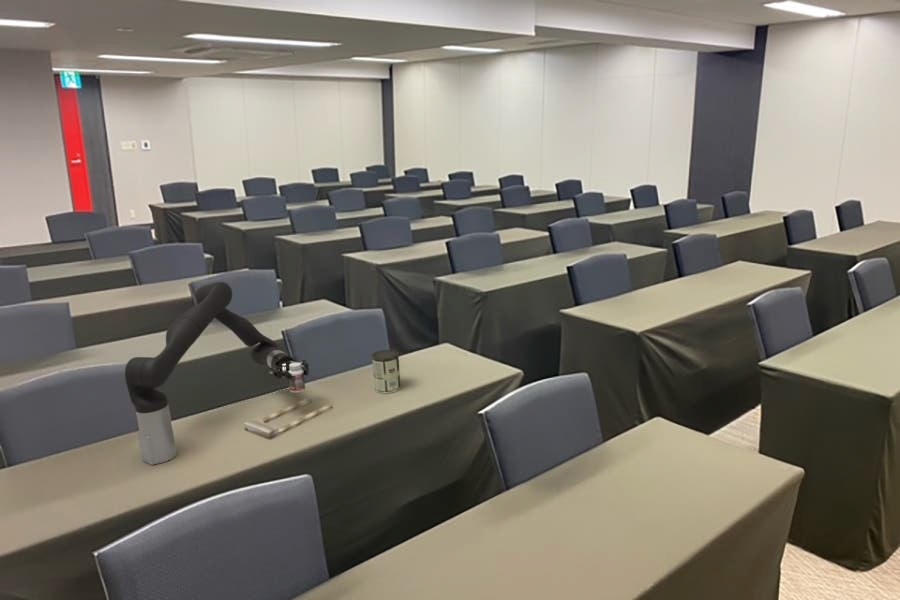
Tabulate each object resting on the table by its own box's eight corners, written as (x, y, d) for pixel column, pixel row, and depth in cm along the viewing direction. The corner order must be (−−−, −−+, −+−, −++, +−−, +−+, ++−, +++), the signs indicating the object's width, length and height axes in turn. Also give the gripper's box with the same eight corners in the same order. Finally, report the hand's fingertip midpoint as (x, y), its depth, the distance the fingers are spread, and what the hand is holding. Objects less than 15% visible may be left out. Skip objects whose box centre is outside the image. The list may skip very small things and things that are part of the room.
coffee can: (385, 381, 251) (382, 348, 247) (406, 385, 246) (403, 351, 242) (368, 390, 243) (365, 356, 239) (390, 395, 237) (387, 360, 234)
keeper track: (269, 439, 208) (268, 432, 207) (244, 429, 215) (243, 423, 215) (332, 408, 229) (331, 401, 228) (307, 400, 237) (307, 394, 236)
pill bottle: (298, 394, 220) (295, 367, 217) (286, 391, 222) (283, 365, 220) (308, 388, 224) (306, 362, 222) (297, 386, 227) (294, 360, 224)
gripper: (260, 357, 228) (278, 369, 215) (297, 348, 236) (317, 359, 223) (262, 376, 230) (280, 390, 216) (299, 367, 238) (318, 379, 225)
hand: (298, 374), depth 220 cm, fingers closed on pill bottle, 5 cm apart
